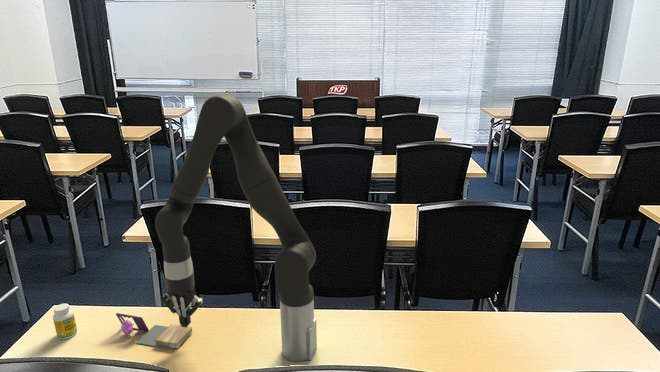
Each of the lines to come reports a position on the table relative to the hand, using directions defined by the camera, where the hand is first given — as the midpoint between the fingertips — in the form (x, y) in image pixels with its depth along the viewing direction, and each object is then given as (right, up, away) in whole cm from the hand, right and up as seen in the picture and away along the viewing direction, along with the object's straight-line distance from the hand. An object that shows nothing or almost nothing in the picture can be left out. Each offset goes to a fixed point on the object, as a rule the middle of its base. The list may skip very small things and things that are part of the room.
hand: (185, 325), depth 131 cm
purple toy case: (-18, -4, +6) cm, 19 cm away
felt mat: (-8, -5, +4) cm, 10 cm away
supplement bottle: (-37, -5, +5) cm, 38 cm away
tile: (-1, -4, +1) cm, 4 cm away
